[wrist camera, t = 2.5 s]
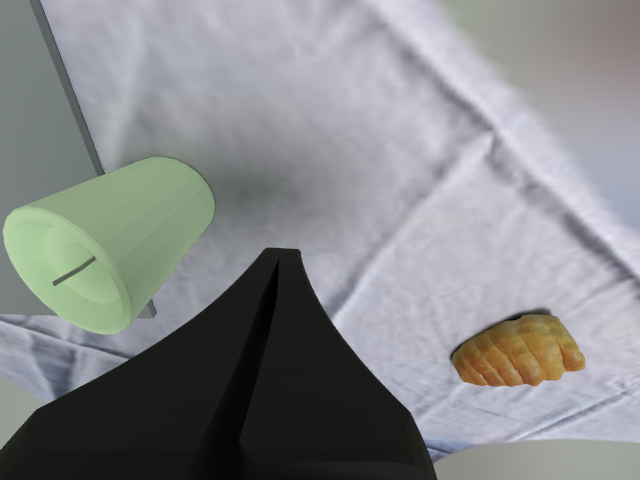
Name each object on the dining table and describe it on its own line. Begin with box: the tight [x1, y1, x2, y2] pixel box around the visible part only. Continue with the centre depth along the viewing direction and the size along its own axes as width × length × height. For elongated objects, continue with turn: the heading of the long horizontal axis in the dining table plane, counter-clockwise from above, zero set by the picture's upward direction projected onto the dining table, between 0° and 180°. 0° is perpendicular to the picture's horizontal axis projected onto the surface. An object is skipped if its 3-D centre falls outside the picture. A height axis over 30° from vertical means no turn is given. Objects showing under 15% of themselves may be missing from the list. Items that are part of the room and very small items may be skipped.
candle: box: [3, 157, 215, 335], centre depth 11 cm, size 5×5×8 cm
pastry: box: [452, 314, 585, 387], centre depth 22 cm, size 9×7×4 cm
